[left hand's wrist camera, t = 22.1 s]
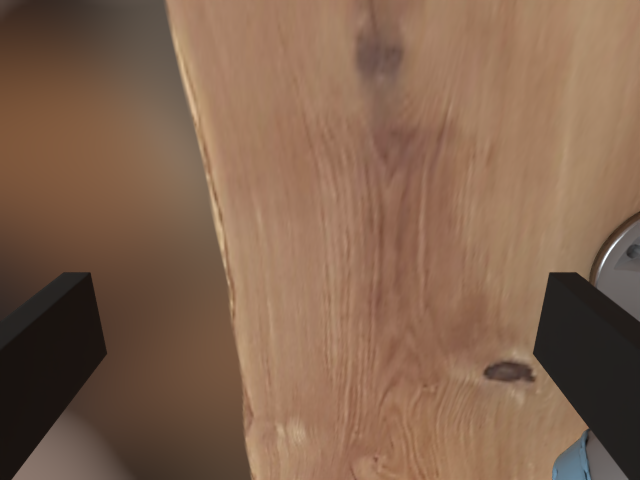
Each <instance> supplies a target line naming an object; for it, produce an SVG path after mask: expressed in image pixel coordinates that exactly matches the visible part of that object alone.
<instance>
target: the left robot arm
mask: <svg viewBox="0 0 640 480" xmlns="http://www.w3.org/2000/svg"><path fill="white" fill-rule="evenodd" d="M106 354H107V351H106V346H105V341H104V336H103V332H102V327H101V322H100V317H99V312H98V307H97V302H96V297H95V292H94V288H93V283H92V278H91V273H90V272H82V273H81V272H71V273H70V272H64V273H62V274H61V275H60V276H58V277H57V278H56V279H55V280H53V281H52V282H51V283H49V284H48V285H47V286H46V287H44V288H43V289H42V290H40V291H39V292H38V293H37V294H35V295H34V296H33V297H31V298H30V299H29V300H28V301H26V302H25V303H24V304H22V305H21V306H20V307H19V308H17V309H16V310H15V311H13V312H12V313H11V314H10V315H8V316H7V317H6V318H4V319H3V320H2V321H0V480H12V478H13V477H14V476H15V474H16V473H17V472H18V470H19V469H20V468H21V466H22V465H23V464H24V462H25V461H26V460H27V458H28V457H29V456H30V454H31V453H32V452H33V451H34V449H35V448H36V447H37V445H38V444H39V443H40V441H41V440H42V439H43V437H44V436H45V435H46V433H47V432H48V431H49V429H50V428H51V427H52V426H53V424H54V423H55V422H56V420H57V419H58V418H59V416H60V415H61V414H62V412H63V411H64V410H65V408H66V407H67V406H68V404H69V403H70V402H71V401H72V399H73V398H74V397H75V395H76V394H77V393H78V391H79V390H80V389H81V387H82V386H83V385H84V383H85V382H86V381H87V379H88V378H89V377H90V376H91V374H92V373H93V372H94V370H95V369H96V368H97V366H98V365H99V364H100V362H101V361H102V360H103V358H104V357H105V356H106ZM533 354H534V356H535V357H536V358H537V360H538V361H539V362H540V364H541V365H542V366H543V368H544V369H545V370H546V372H547V373H548V374H549V376H550V377H551V378H552V380H553V381H554V382H555V383H556V385H557V386H558V387H559V389H560V390H561V391H562V393H563V394H564V395H565V397H566V398H567V399H568V401H569V402H570V403H571V405H572V406H573V407H574V408H575V410H576V411H577V412H578V414H579V415H580V416H581V418H582V419H583V420H584V422H585V423H586V424H587V426H588V427H589V429H587V430H586V431H584V432H583V434H582V436H581V438H580V439H578V440H577V441H576V442H575V443H574V444H573V445H571V446H570V447H569V448H568V449H567V450H566V451H564V452H563V453H562V454H560V455H559V457H558V458H557V459H556V461H555V463H554V466H553V470H552V480H640V212H639V213H637V214H635V215H634V216H632V217H631V218H629V219H628V220H627V221H625V222H624V223H623V224H621V225H620V226H619V227H618V228H617V229H616V230H615V231H614V232H613V233H612V234H611V235H610V236H609V238H608V239H607V240H606V241H605V243H604V244H603V246H602V247H601V249H600V250H599V252H598V254H597V256H596V258H595V260H594V263H593V265H592V269H591V272H590V277H589V282H588V281H587V280H585V279H584V278H583V277H582V276H580V275H579V274H578V273H576V272H550V273H549V278H548V283H547V288H546V292H545V297H544V302H543V307H542V312H541V317H540V322H539V327H538V331H537V336H536V341H535V346H534V351H533Z"/></svg>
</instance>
